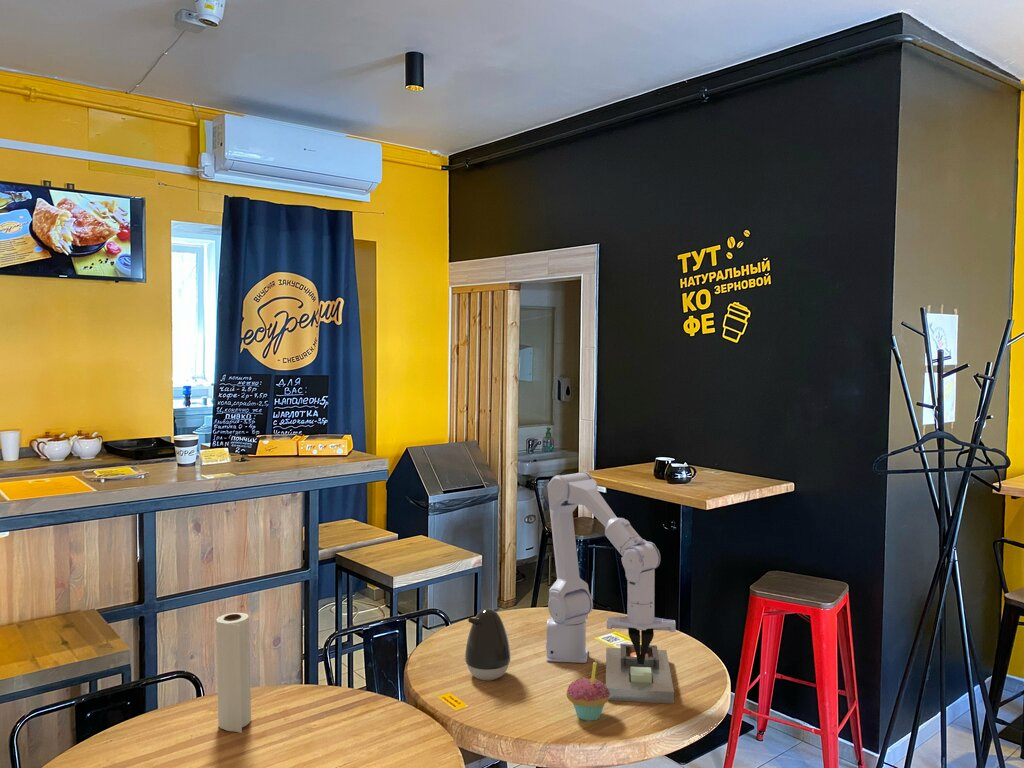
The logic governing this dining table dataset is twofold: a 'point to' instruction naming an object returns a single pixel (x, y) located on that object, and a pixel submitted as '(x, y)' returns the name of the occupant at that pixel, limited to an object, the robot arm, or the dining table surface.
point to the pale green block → (640, 675)
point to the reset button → (635, 654)
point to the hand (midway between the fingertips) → (640, 662)
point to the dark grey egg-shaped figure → (487, 646)
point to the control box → (638, 692)
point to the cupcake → (588, 696)
